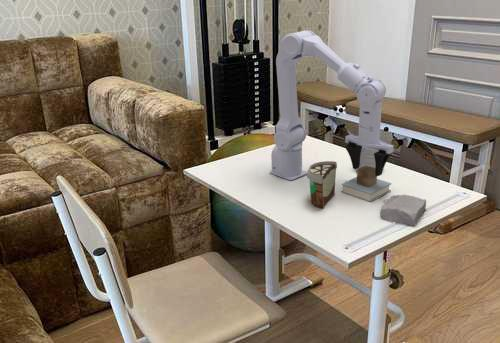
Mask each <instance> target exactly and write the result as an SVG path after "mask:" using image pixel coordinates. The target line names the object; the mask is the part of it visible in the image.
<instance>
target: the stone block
mask: <svg viewBox="0 0 500 343" xmlns="http://www.w3.org/2000/svg"><path fill="white" fill-rule="evenodd" d="M426 206H427V199H426V198H425V199H423V198H420V197H416V196H414V195H410V194H397V195H391V196H390V197H389V198H388V199H386V200H385V202H384V203H383V204H382V205H381V207H380V210H379V214H380V217H381V219H382V220H383V221H386V222H389V223H393V222H395V224H401V225H404V224H405V225H404V226H410V227H414V226H415V225H416V224H417V222H418V221H419V219H420V218H421V216H422V215H423V213H424V212H425V210H426V208H427V207H426Z"/></svg>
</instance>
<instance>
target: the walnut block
mask: <svg viewBox="0 0 500 343" xmlns="http://www.w3.org/2000/svg"><path fill="white" fill-rule="evenodd" d="M356 177H357V184H359V185H362V186H365V187H370V186H372V185H374V184H376V183H377V179H378V176H376V175H375V168H373V167H370V166H366V165H365V166H363V167H361V168H359V169H357V172H356Z"/></svg>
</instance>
